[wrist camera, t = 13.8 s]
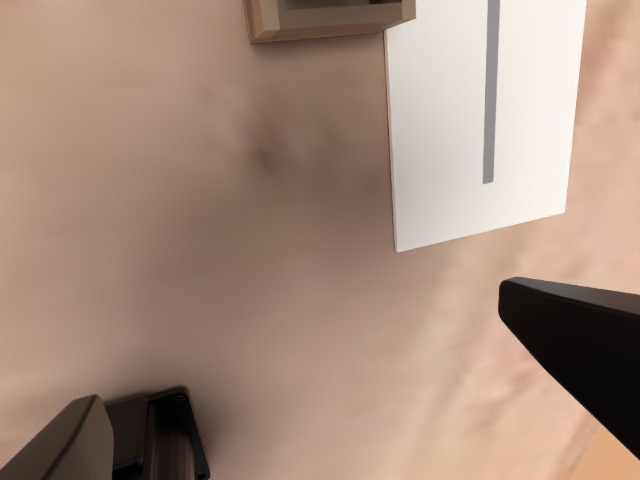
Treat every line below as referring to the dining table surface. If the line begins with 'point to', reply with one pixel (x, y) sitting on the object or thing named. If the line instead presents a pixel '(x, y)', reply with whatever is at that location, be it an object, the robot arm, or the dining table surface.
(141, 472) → the robot arm
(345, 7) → the brown square frame
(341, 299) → the dining table surface
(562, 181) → the paper
